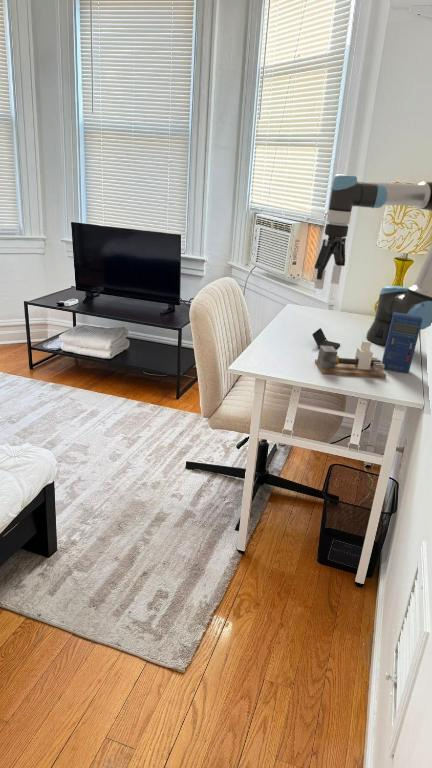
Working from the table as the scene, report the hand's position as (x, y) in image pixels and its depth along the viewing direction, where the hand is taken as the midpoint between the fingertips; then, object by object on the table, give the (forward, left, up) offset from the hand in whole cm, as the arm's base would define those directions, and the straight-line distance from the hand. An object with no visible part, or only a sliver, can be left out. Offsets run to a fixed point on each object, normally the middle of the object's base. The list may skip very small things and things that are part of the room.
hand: (326, 286), depth 186 cm
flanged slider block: (-13, +15, -24) cm, 31 cm away
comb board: (-9, +15, -25) cm, 31 cm away
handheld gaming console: (-7, -10, -26) cm, 29 cm away
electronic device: (-27, +11, -26) cm, 39 cm away
